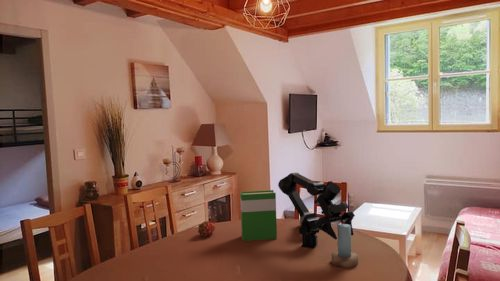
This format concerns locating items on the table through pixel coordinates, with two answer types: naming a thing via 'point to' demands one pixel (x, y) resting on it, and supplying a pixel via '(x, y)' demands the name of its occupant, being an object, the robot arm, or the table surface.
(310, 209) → the stack of blocks
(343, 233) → the blue-grey cylinder
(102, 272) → the table surface
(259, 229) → the hardback book
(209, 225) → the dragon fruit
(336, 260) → the walnut base
